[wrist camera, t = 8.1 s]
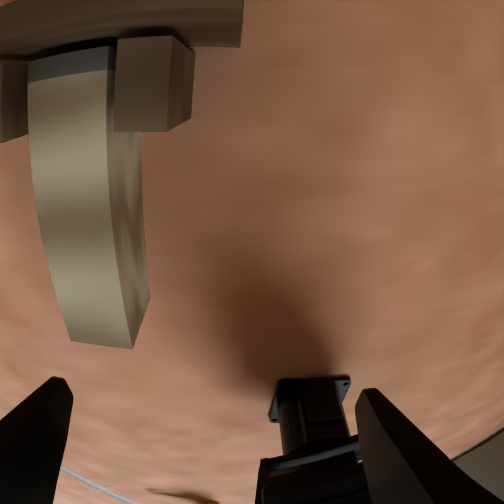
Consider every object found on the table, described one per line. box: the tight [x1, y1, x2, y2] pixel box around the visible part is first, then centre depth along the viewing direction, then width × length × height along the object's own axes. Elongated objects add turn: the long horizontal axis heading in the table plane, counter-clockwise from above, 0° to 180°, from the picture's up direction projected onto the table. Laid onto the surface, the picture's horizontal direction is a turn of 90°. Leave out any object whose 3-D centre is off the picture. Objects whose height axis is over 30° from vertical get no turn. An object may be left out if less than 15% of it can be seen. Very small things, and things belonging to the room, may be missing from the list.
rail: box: [28, 46, 150, 349], centre depth 15 cm, size 15×4×5 cm, turn 176°
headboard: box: [0, 0, 244, 143], centre depth 11 cm, size 6×14×8 cm, turn 85°
